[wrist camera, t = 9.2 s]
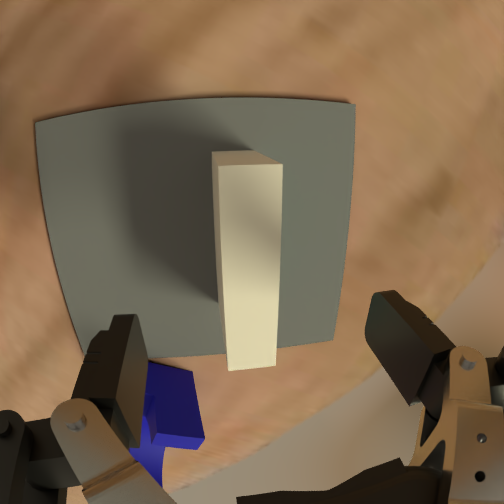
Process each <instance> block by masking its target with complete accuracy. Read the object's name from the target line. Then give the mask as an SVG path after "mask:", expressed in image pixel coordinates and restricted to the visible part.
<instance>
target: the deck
mask: <svg viewBox="0 0 504 504" xmlns="http://www.w3.org/2000/svg"><path fill="white" fill-rule="evenodd" d="M282 179H283V164H281V163H279V162H277V161H275V160H273V159H271V158H269V157H267V156H265V155H263V154H261V153H258V152H256V151H254V150H243V151H214V152H212V182H213V209H214V232H215V252H216V270H217V286H218V302H219V310H220V317H221V325H222V332H223V339H224V345H225V352H226V359H227V366H228V371H233V370H243V369H252V368H261V367H269V366H275V365H276V347H277V328H278V306H279V283H280V256H281V223H282Z"/></svg>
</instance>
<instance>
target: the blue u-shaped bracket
mask: <svg viewBox="0 0 504 504" xmlns="http://www.w3.org/2000/svg"><path fill="white" fill-rule="evenodd" d="M204 439H205V436H204V431H203V426H202V421H201V416H200V411H199V406H198V400H197V395H196V389H195V384H194V378H193V372H192V371H188V370H183V369H178V368H173V367H168V366H164V365H159V364H155V363H151V362H148V372H147V380H146V388H145V397H144V407H143V417H142V428H141V441H140V448H129V451H128V452H129V453H130V454H131V455H132V457H133V458H134V459H135V460H136V461H138V462H139V463H140V464H141V465H142V466H143V467H144V468H145V469H146V470H147V471H148V473H149V474H150V475H151V476H152V477H153V478H154V479H155V481H156V482H157V483H158V484H159V485H160V486H161V487H162V465H163V456H164V451H165V446H166V447H174V448H183V449H193V450H197V449H198V448H199V447H200V445H201V444H202V442H203V441H204Z"/></svg>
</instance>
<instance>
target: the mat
mask: <svg viewBox="0 0 504 504" xmlns="http://www.w3.org/2000/svg"><path fill="white" fill-rule="evenodd" d="M355 107H356V104H347V103H338V102H328V101H317V100H303V99H285V98H202V99H184V100H171V101H159V102H149V103H140V104H132V105H124V106H117V107H110V108H104V109H98V110H92V111H86V112H81V113H76V114H71V115H66V116H61V117H57V118H52V119H48V120H44V121H40V122H36V123H35V129H36V145H37V157H38V167H39V176H40V184H41V191H42V198H43V204H44V210H45V216H46V222H47V227H48V232H49V237H50V241H51V246H52V250H53V255H54V259H55V263H56V267H57V271H58V275H59V279H60V282H61V286H62V289H63V293H64V296H65V300H66V303H67V306H68V309H69V313H70V316H71V319H72V322H73V325H74V328H75V330H76V333H77V336H78V339H79V342H80V344H81V347H82V350H83V352H84V355H86V354H87V349H88V347H89V344H90V341H91V340H92V339H93V338H94V336H95V335H96V334H97V333H98V332H99V331H100V330H109V327H110V324H111V321H112V318H113V316H114V315H116V314H137V315H138V318H139V321H140V326H141V330H142V334H143V338H144V342H145V346H146V350H147V355H148V358H167V357H187V356H202V355H215V354H226V352H225V345H224V339H223V332H222V325H221V317H220V310H219V302H218V286H217V270H216V252H215V232H214V209H213V182H212V152H214V151H243V150H254V151H256V152H258V153H261V154H263V155H265V156H267V157H269V158H271V159H273V160H275V161H277V162H279V163H281V164H283V179H282V223H281V256H280V283H279V306H278V328H277V347H276V348H282V347H290V346H297V345H304V344H311V343H318V342H324V341H330V340H333V338H334V332H335V326H336V320H337V314H338V307H339V301H340V294H341V287H342V280H343V272H344V265H345V256H346V248H347V239H348V229H349V219H350V208H351V195H352V181H353V165H354V144H355Z"/></svg>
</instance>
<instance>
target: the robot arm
mask: <svg viewBox="0 0 504 504" xmlns="http://www.w3.org/2000/svg"><path fill="white" fill-rule="evenodd" d="M365 338H366V341H367V343H368V345H369V347H370V348H371V349H372V351H373V352H374V354H375V355H376V357H377V358H378V360H379V361H380V363H381V364H382V366H383V367H384V369H385V370H386V372H387V373H388V374H389V376H390V377H391V379H392V380H393V382H394V383H395V385H396V387H397V388H398V390H399V391H400V393H401V394H402V396H403V397H404V399H405V400H406V402H407V403H408V405H409V406H412V405H415V404H418V403H420V402H422V403H423V404H424V407H423V408H422V410H421V415H420V421H419V428H418V433H417V439H416V445H415V450H414V454H413V457H412V459H411V461H410V463H409V465H408V466H404V465H403V463H402V461H401V459H400V458H397V459H394V460H392V461H389V462H386V463H383V464H381V465H378V466H375V467H372V468H369V469H366V470H364V471H362V472H361V473H359V474H357V475H355V476H354V477H352V478H350V479H349V480H347V481H345V482H343V483H341V484H340V485H338V486H336V487H334V488H332V489H330V490H327V491H277V492H271V493H264V494H257V495H250V496H241V497H236V499H237V504H504V347H503V348H502V350H501V352H500V354H499V356H498V357H493V358H484V356H483V355H482V354H481V353H480V352H479V351H477V350H476V349H474V348H471V347H467V346H458V347H456V346H455V345H454V344H453V343H452V342H451V341H450V340H449V339H448V337H447V336H446V335H445V334H444V333H443V332H442V331H441V330H440V329H439V328H438V327H437V326H436V325H434V324H433V322H432V321H431V320H430V319H429V318H427V316H426V315H425V314H424V313H423V312H422V311H421V310H420V309H419V308H418V307H416V306H415V305H413V304H411V303H409V302H408V301H406V300H405V299H404V298H403V297H402V296H401V295H400V294H399V293H398V292H397V291H395V290H389V291H382V292H376V293H374V294H373V296H372V299H371V304H370V308H369V313H368V317H367V321H366V326H365ZM147 372H148V355H147V350H146V346H145V342H144V338H143V334H142V330H141V326H140V321H139V318H138V315H137V314H116V315H114V316H113V318H112V321H111V324H110V327H109V330H100V331H99V332H98V333H97V334H96V335H95V336H94V338H93V339H92V340H91V341H90V344H89V347H88V349H87V354H86V355H85V358H84V361H83V364H82V366H81V369H80V372H79V375H78V378H77V381H76V384H75V387H74V390H73V394H72V397H71V399H70V400H67V401H65V402H63V403H61V404H60V405H59V406H57V407H56V409H55V410H54V411H53V413H52V415H51V418H47V419H41V420H35V421H29V422H25V421H24V420H23V419H22V417H21V416H20V415H19V414H18V413H17V412H15V411H12V410H3V411H0V504H66V498H67V487H73V486H79V485H82V487H83V490H82V492H83V495H84V497H85V498H86V500H87V502H88V503H89V504H177V503H176V502H175V501H174V500H173V499H172V498H171V497H170V496H169V495H168V494H167V493H166V492H165V491H164V489H163V488H162V487H161V486H160V485H159V484H158V483H157V482H156V481H155V479H154V478H153V477H152V476H151V475H150V474H149V473H148V471H147V470H146V469H145V468H144V467H143V466H142V465H141V464H140V463H139V462H138V461H136V460H135V459H134V458H133V457H132V455H131V454H130V453H129V452H128V451H129V448H140V441H141V428H142V417H143V407H144V397H145V388H146V380H147Z"/></svg>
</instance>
